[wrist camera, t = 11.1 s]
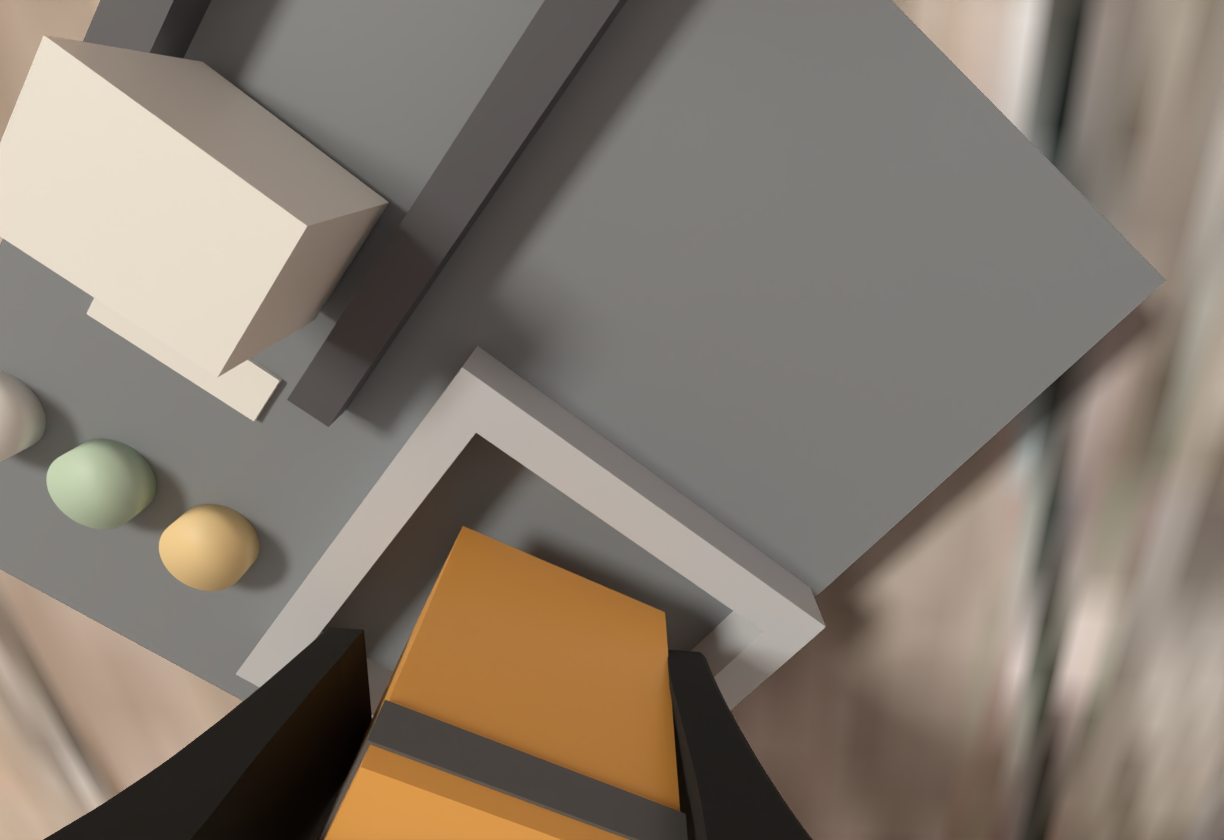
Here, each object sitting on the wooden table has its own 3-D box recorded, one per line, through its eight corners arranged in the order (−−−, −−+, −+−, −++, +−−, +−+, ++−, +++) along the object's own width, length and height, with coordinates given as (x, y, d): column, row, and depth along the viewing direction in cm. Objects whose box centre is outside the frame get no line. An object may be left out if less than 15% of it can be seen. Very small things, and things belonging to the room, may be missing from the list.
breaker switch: (389, 203, 11) (307, 226, 8) (314, 319, 12) (217, 377, 9) (202, 61, 10) (43, 35, 7) (136, 196, 11) (-30, 217, 8)
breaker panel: (1108, 264, 13) (1224, 295, 10) (536, 801, 18) (522, 906, 16) (385, -456, 9) (297, -671, 7) (-44, 473, 15) (-179, 540, 13)
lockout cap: (668, 611, 13) (691, 884, 8) (573, 757, 14) (547, 1059, 10) (461, 522, 12) (357, 763, 7) (383, 685, 14) (257, 970, 9)
